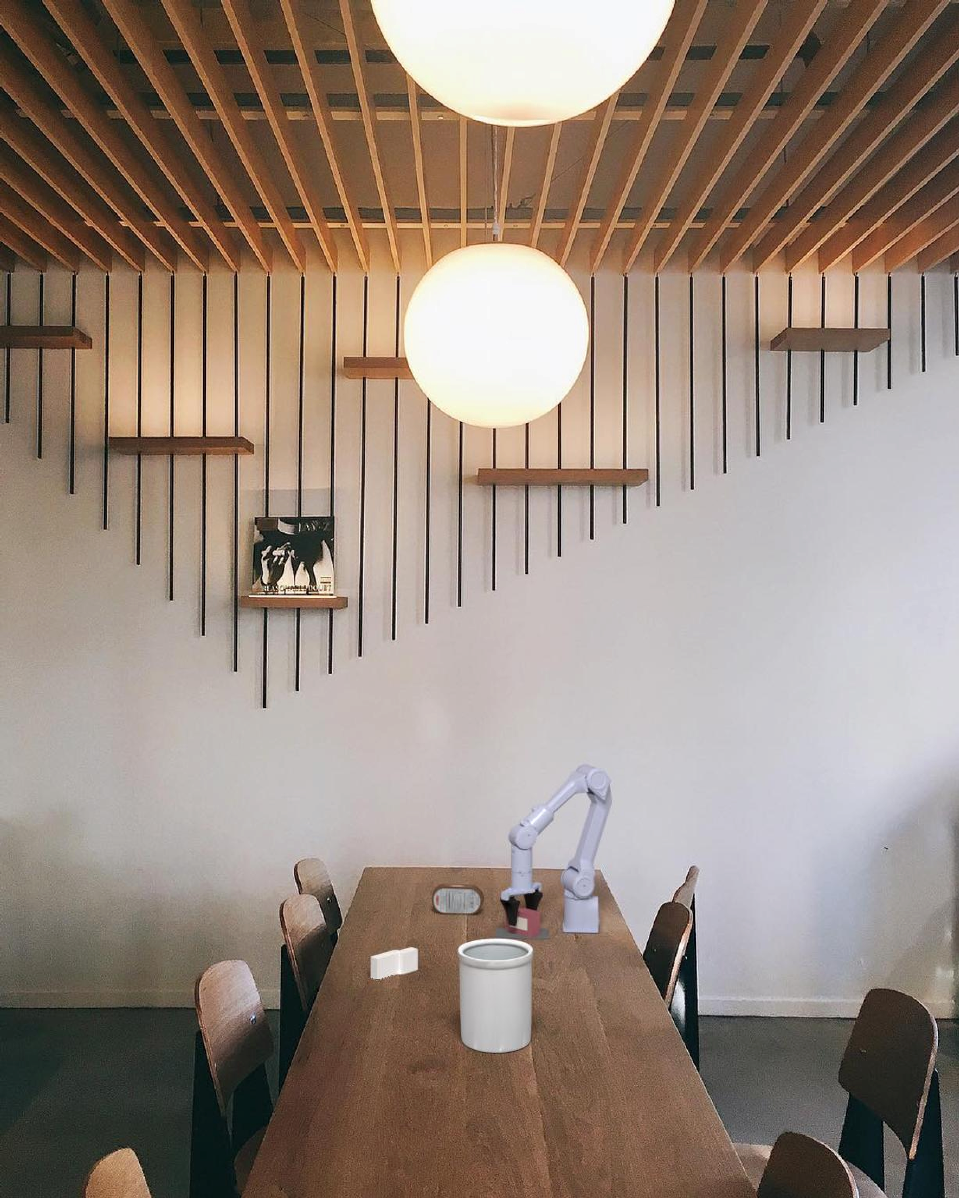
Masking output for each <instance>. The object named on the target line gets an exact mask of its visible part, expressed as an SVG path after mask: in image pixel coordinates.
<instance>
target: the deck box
mask: <svg viewBox="0 0 959 1198" xmlns="http://www.w3.org/2000/svg"><path fill="white" fill-rule="evenodd" d="M505 928H506V931H508V932H512V933H516V934H520V935H524V936H527V937H531V938H532V937H535V936H538V935H540V929H541V911H538V910H537V911H535V910H531V909H526V907H521V906H519V908H518V913H517V924H516V926H511V925H509V923H508V919H507V915H506V914H505Z"/></svg>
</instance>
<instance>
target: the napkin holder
mask: <svg viewBox="0 0 959 1198" xmlns="http://www.w3.org/2000/svg"><path fill="white" fill-rule="evenodd" d="M418 954H419V949H418V948H415V947H412V946H410V947H406V948H404V949H403V948H402V949H392V950H388V951H387V952H386V951H385V952H382V953H379V954H375V955H371V956H370V978H371V979H372V978H373V979H372V980H375V979H380V980H383V979H386V978H388V976H389V977H392V976H391V975H393V976H395V975H406V974H409V973H412V972H415V971H417V970H418V969H419V967H418V966H419V961H418V960H419V957H418V956H419V955H418ZM385 977H386V978H385ZM382 978H383V979H382Z"/></svg>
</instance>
